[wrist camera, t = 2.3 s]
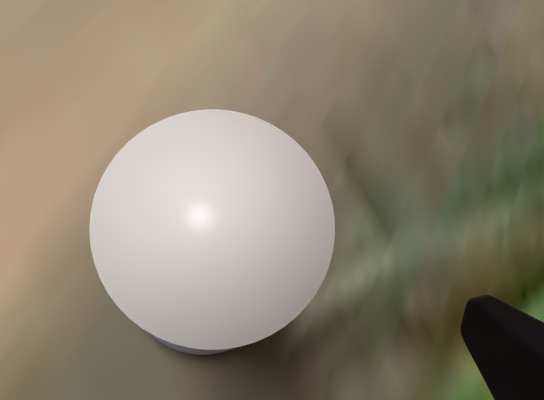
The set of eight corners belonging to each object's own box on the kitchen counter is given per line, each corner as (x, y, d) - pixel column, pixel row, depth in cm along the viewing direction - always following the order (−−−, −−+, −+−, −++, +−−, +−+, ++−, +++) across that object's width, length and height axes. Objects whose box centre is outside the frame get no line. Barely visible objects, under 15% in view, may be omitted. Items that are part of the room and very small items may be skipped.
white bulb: (306, 269, 19) (440, 212, 9) (210, 384, 18) (229, 488, 7) (201, 175, 19) (206, 9, 9) (98, 281, 18) (-47, 234, 7)
